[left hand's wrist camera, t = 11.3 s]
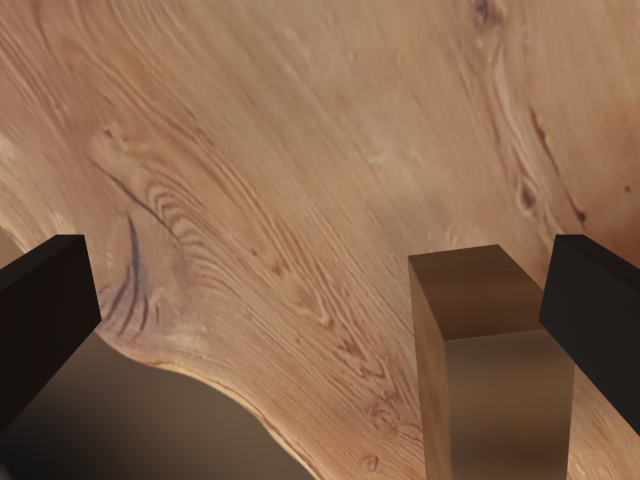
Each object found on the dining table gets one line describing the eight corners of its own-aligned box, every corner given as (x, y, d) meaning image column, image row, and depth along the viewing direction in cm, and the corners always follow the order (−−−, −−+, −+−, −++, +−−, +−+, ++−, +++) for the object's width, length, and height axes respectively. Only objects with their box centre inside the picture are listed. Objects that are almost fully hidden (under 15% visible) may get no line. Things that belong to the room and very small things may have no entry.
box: (407, 255, 31) (444, 341, 21) (498, 243, 30) (578, 325, 21) (429, 515, 40) (462, 657, 31) (499, 509, 40) (554, 650, 30)
